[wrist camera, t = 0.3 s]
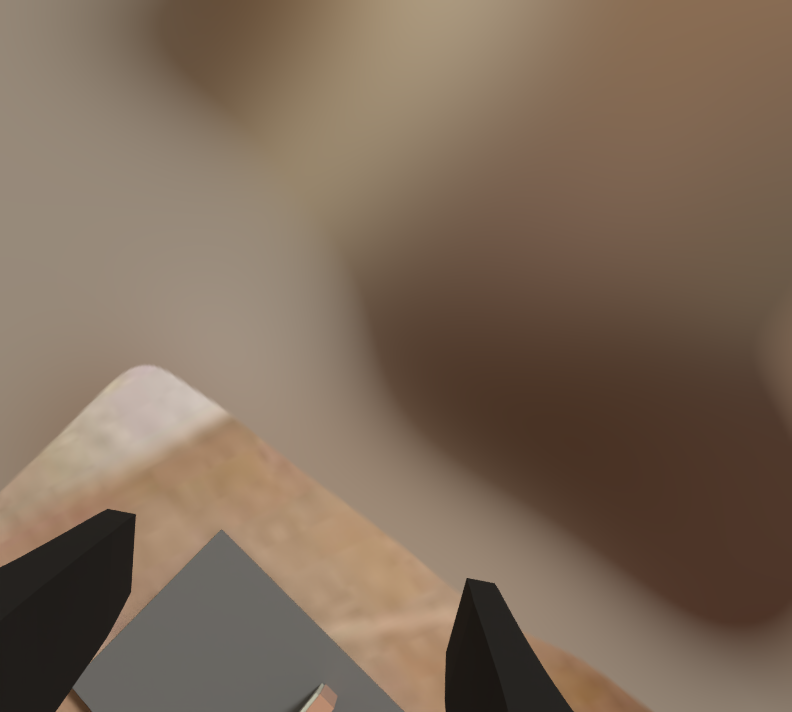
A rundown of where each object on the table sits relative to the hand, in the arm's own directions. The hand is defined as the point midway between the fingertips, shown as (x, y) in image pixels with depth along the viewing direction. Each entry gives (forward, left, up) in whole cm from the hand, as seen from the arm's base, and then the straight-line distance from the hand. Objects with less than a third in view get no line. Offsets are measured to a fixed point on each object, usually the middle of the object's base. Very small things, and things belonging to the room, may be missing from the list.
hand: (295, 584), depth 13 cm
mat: (-6, +4, -29) cm, 30 cm away
